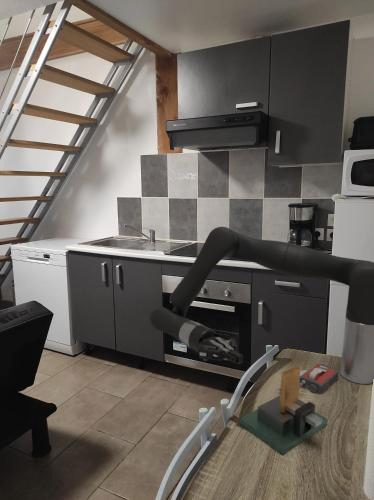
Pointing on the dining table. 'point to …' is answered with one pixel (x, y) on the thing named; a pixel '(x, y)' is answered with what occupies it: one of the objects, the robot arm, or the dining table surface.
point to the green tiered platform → (281, 424)
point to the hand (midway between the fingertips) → (241, 360)
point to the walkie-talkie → (318, 378)
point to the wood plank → (294, 395)
